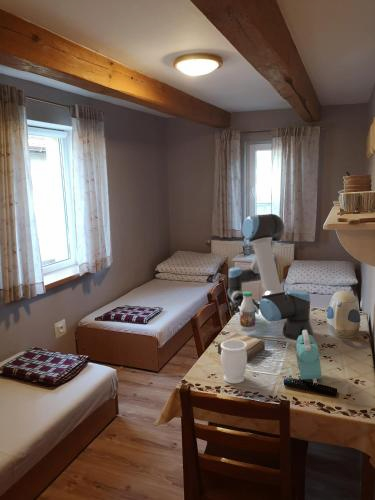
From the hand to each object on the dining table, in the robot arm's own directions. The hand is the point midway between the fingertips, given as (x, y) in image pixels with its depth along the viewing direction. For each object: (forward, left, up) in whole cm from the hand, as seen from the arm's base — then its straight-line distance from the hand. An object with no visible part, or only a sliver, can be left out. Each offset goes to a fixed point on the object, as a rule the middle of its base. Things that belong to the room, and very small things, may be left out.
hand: (249, 312), depth 197 cm
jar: (-15, +39, -15) cm, 44 cm away
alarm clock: (-39, +21, -15) cm, 46 cm away
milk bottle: (+3, -3, -11) cm, 12 cm away
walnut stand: (-4, +15, -14) cm, 21 cm away
